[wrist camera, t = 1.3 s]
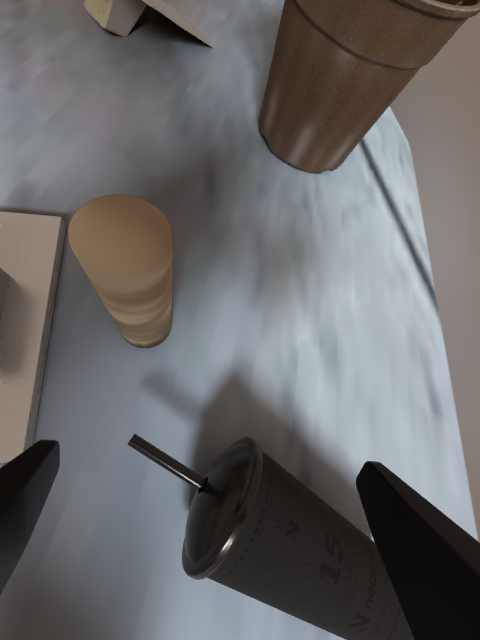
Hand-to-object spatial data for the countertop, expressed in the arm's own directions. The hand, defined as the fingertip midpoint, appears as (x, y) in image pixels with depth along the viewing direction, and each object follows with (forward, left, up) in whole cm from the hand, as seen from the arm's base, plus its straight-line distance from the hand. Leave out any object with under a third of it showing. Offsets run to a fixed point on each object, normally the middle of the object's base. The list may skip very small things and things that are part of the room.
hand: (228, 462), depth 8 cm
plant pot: (+36, +9, -14) cm, 39 cm away
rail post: (+5, +8, -14) cm, 16 cm away
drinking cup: (-1, -17, -11) cm, 20 cm away
